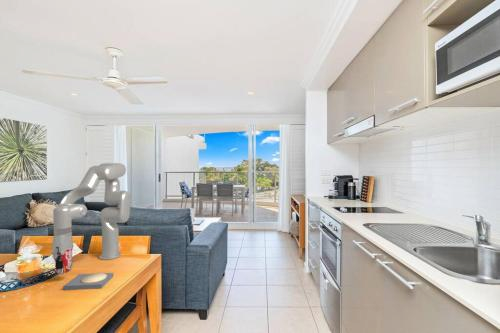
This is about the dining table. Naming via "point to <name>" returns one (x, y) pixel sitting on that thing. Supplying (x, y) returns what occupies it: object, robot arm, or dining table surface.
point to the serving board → (88, 281)
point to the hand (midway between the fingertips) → (63, 265)
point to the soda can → (66, 262)
